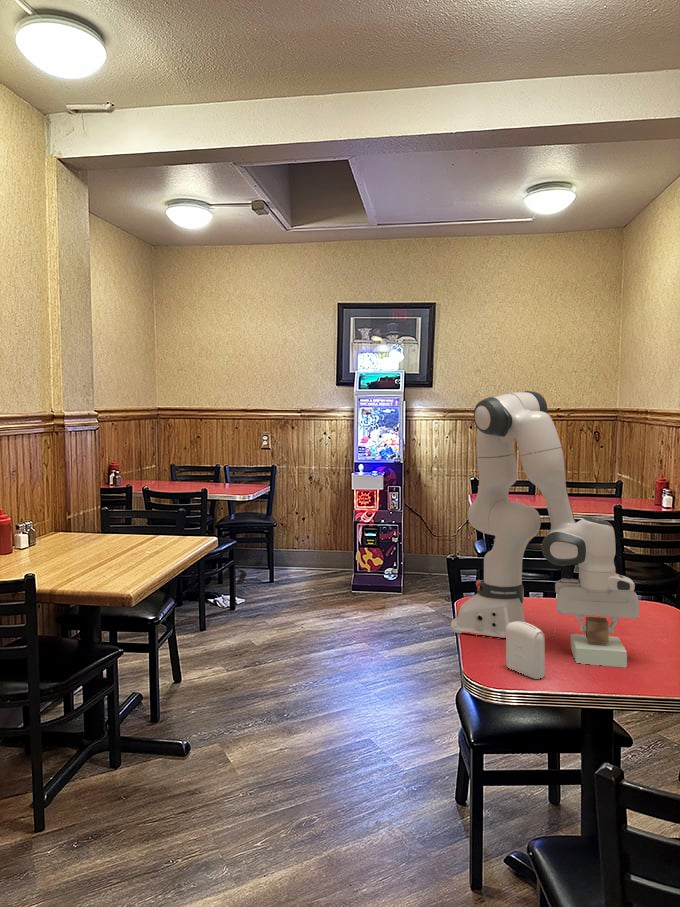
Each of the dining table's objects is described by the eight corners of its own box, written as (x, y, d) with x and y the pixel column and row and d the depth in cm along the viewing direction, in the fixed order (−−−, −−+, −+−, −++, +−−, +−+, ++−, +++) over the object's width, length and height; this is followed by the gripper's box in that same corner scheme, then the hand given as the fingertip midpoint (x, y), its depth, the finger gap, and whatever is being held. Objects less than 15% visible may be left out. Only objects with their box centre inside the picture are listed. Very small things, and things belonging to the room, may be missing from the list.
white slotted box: (503, 668, 160) (503, 619, 159) (515, 664, 162) (515, 616, 162) (535, 681, 151) (535, 630, 151) (547, 677, 153) (547, 627, 153)
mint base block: (576, 663, 162) (576, 648, 162) (570, 648, 174) (570, 633, 174) (626, 667, 159) (626, 651, 159) (617, 651, 171) (617, 636, 171)
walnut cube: (587, 641, 165) (587, 622, 164) (585, 635, 169) (585, 616, 169) (608, 642, 163) (608, 623, 163) (605, 636, 168) (605, 617, 168)
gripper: (556, 580, 165) (556, 633, 166) (641, 584, 160) (641, 638, 161) (554, 575, 171) (554, 625, 172) (636, 579, 166) (636, 631, 167)
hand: (596, 632), depth 166 cm, fingers closed on walnut cube, 5 cm apart
